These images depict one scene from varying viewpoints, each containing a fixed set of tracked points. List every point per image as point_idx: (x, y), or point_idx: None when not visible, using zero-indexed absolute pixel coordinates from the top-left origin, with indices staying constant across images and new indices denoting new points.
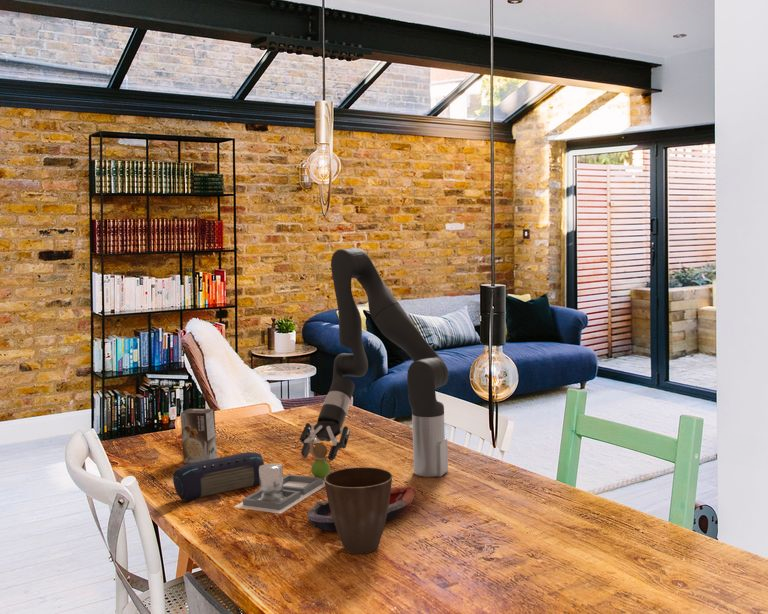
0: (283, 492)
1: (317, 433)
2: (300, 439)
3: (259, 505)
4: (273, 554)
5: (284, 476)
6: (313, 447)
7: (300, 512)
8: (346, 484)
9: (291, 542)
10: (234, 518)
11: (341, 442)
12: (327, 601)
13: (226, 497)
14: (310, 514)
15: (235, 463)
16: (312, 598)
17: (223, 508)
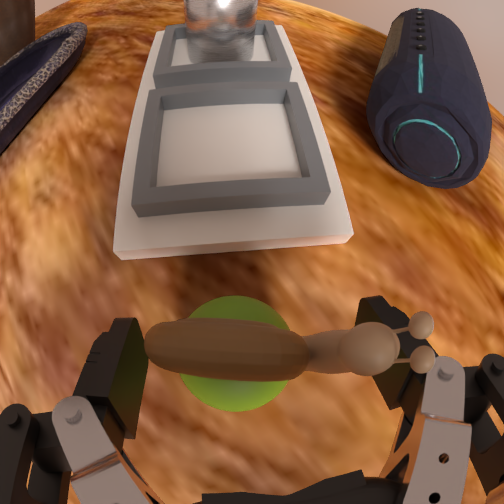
0: (189, 44)
1: (397, 499)
2: (495, 358)
3: None
4: (118, 6)
5: (320, 161)
6: (321, 352)
7: (132, 70)
8: (2, 3)
9: (105, 22)
10: None
11: (7, 414)
12: (49, 11)
13: None
14: (78, 22)
15: (412, 36)
16: (60, 7)
17: (321, 45)
